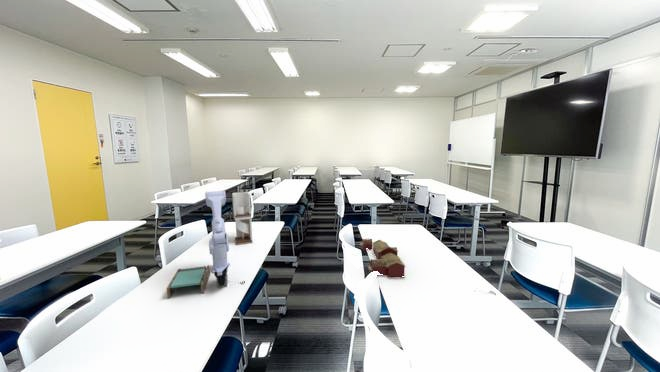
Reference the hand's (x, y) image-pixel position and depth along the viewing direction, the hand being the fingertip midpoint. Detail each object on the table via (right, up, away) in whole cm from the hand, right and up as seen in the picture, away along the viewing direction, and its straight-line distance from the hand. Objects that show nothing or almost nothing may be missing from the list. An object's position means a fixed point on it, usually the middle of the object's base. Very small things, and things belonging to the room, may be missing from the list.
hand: (222, 282), depth 128 cm
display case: (-9, +7, +59) cm, 61 cm away
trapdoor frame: (-16, -1, +1) cm, 16 cm away
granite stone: (0, -2, 0) cm, 2 cm away
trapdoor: (-15, +1, -1) cm, 16 cm away
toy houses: (+83, +3, +29) cm, 88 cm away
